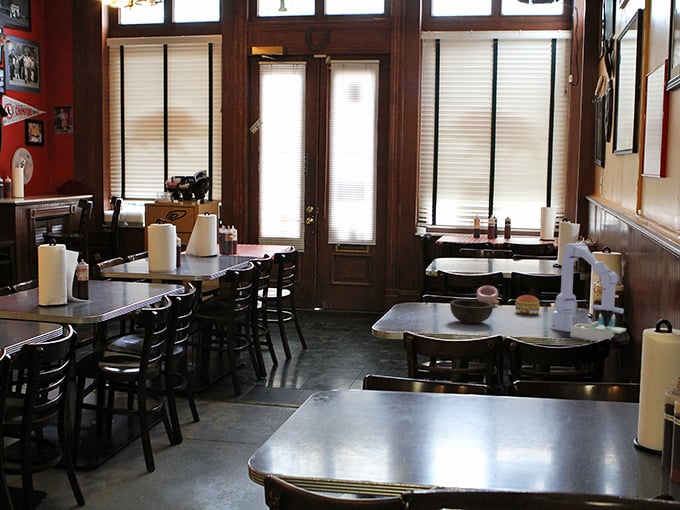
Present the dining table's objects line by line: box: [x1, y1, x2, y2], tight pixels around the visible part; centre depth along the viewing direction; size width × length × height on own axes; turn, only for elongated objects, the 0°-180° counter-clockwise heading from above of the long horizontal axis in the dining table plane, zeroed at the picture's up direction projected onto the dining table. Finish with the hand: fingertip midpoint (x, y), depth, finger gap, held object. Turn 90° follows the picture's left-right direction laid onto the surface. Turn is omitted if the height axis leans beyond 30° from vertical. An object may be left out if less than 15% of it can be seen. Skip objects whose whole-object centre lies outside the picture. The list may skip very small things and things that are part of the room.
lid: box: [590, 320, 627, 334], centre depth 394 cm, size 14×9×2 cm, turn 53°
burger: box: [514, 294, 541, 315], centre depth 458 cm, size 14×14×10 cm
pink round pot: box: [476, 284, 499, 305], centre depth 480 cm, size 12×12×11 cm
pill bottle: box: [598, 313, 616, 339], centre depth 405 cm, size 8×7×14 cm
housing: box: [569, 322, 612, 342], centre depth 399 cm, size 16×10×6 cm, turn 53°
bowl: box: [449, 299, 494, 325], centre depth 428 cm, size 22×22×10 cm
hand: (606, 326), depth 394 cm, fingers closed
